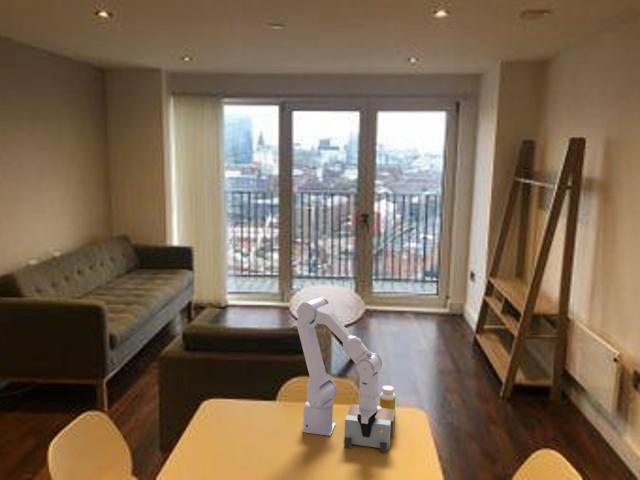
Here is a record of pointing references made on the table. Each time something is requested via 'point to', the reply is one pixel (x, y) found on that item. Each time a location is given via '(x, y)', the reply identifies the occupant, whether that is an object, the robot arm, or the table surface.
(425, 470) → the table surface
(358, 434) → the door panel
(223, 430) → the table surface
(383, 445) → the cabinet
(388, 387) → the supplement bottle
